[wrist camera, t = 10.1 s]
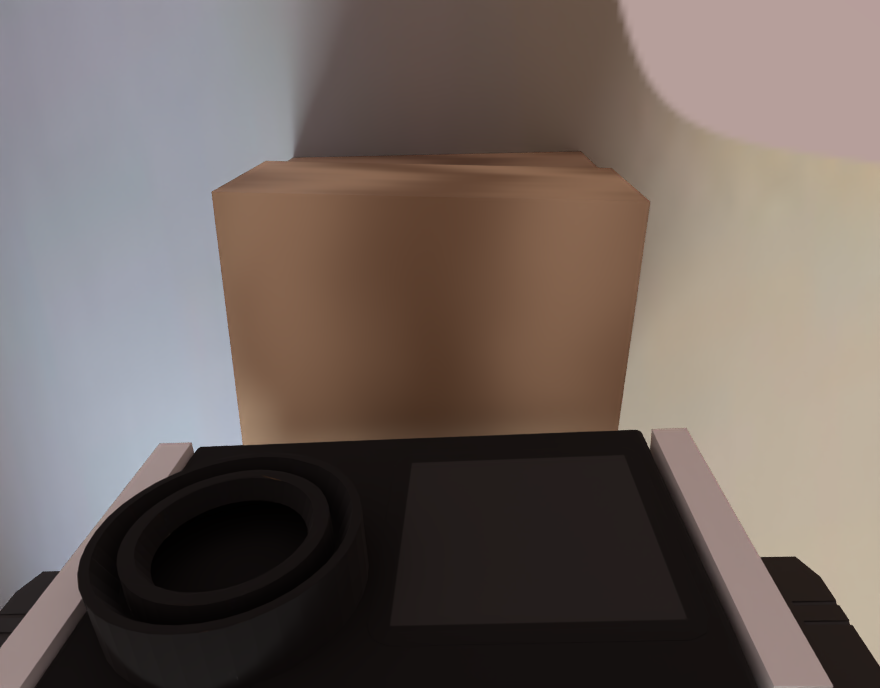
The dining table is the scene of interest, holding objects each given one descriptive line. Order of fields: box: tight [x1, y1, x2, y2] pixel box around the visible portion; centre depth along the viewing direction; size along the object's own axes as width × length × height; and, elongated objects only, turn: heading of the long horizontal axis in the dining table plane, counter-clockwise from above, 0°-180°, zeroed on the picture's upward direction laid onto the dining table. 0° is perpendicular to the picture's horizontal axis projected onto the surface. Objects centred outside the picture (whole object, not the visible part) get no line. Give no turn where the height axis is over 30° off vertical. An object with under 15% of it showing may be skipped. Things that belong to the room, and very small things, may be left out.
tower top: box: [212, 161, 650, 445], centre depth 20 cm, size 10×12×4 cm
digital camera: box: [35, 430, 758, 688], centre depth 13 cm, size 10×5×7 cm, turn 94°
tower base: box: [289, 151, 598, 168], centre depth 24 cm, size 10×12×4 cm
